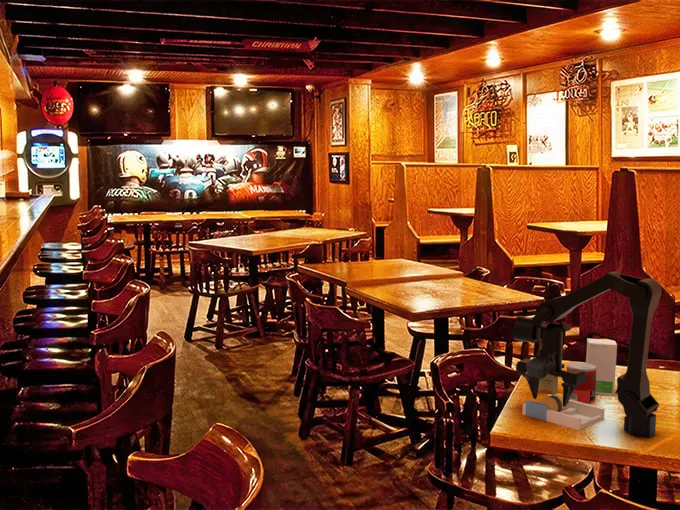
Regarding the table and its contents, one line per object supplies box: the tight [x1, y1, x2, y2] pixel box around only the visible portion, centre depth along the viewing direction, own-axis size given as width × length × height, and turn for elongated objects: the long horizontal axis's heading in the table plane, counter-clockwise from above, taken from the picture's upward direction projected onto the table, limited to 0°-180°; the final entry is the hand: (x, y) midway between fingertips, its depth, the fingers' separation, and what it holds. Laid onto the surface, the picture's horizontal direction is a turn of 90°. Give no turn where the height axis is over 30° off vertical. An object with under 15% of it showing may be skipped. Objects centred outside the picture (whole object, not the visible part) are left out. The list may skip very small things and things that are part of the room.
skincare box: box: [585, 337, 618, 397], centre depth 229 cm, size 8×7×16 cm
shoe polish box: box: [538, 374, 559, 395], centre depth 227 cm, size 5×5×12 cm
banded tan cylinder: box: [536, 392, 568, 412], centre depth 206 cm, size 8×5×5 cm, turn 132°
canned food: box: [566, 361, 596, 405], centre depth 219 cm, size 8×8×11 cm
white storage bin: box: [522, 394, 605, 431], centre depth 204 cm, size 17×12×5 cm
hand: (549, 402), depth 207 cm, fingers open, 9 cm apart
